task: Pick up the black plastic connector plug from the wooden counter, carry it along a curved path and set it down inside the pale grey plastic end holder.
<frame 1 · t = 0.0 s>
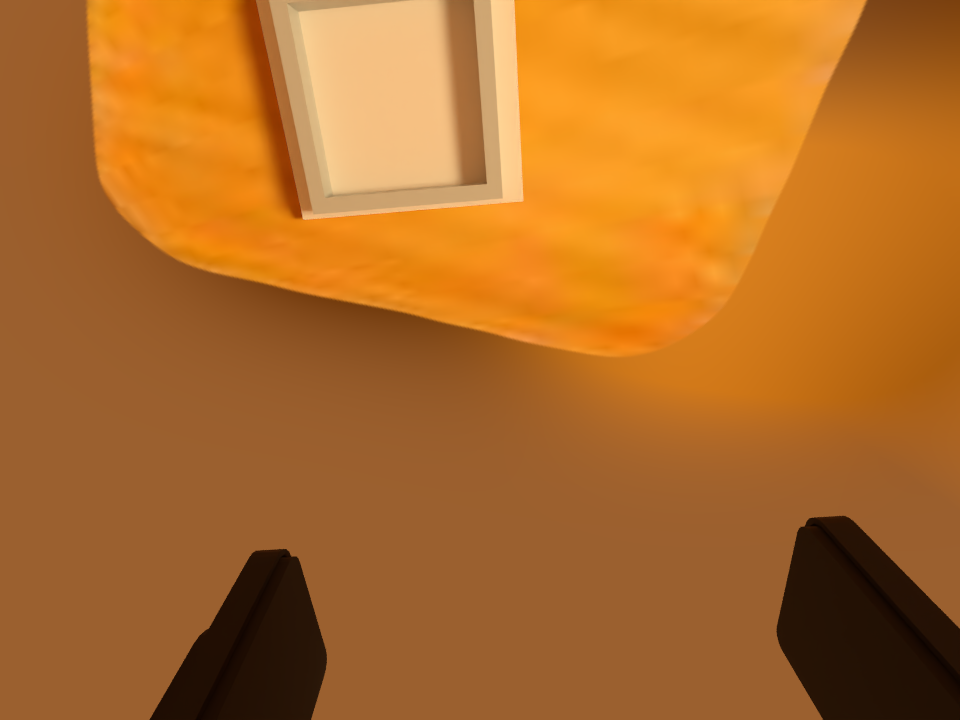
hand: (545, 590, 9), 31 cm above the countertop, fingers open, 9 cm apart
end holder: (400, 103, 34), on the countertop
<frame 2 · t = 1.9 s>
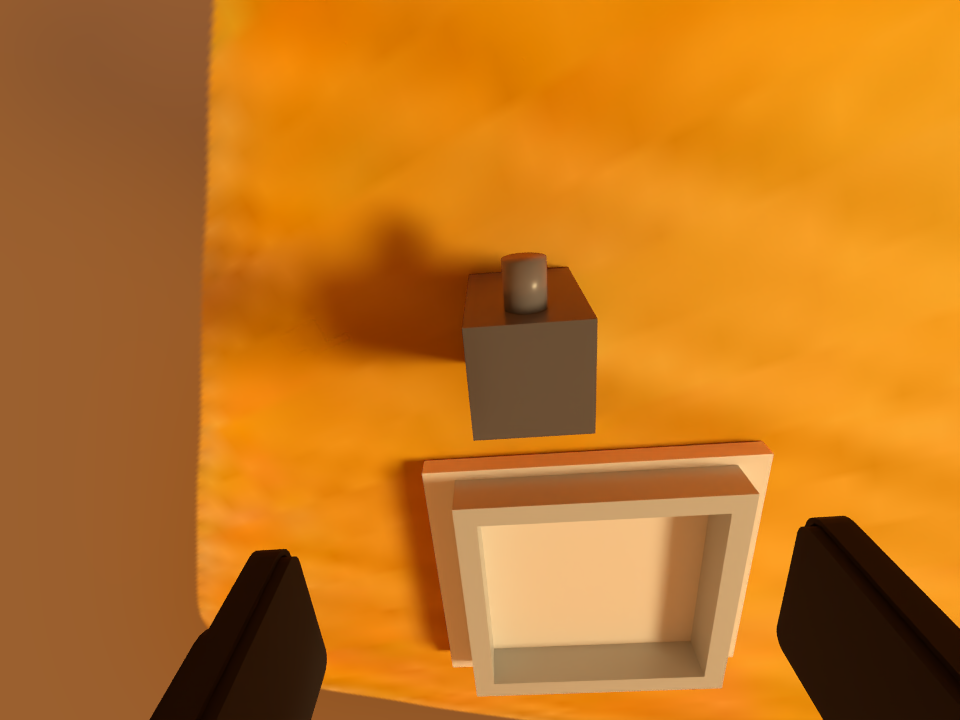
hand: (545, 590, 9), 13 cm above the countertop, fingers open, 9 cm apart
connector plug: (520, 317, 21), on the countertop
end holder: (589, 559, 27), on the countertop
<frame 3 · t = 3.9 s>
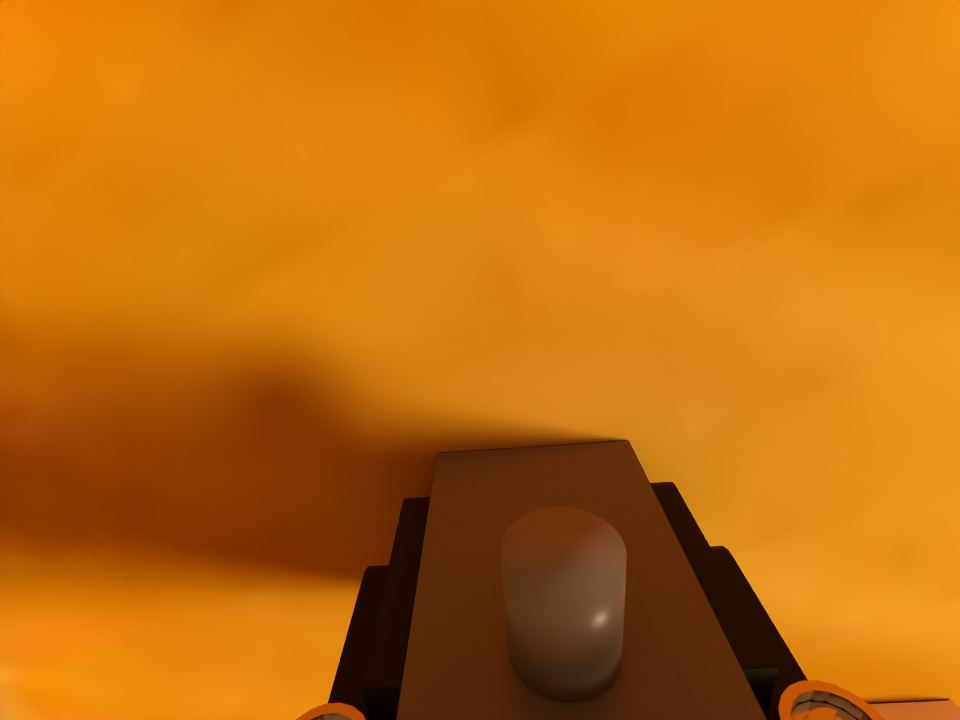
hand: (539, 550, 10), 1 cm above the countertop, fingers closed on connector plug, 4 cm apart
connector plug: (535, 522, 11), on the countertop, touching gripper
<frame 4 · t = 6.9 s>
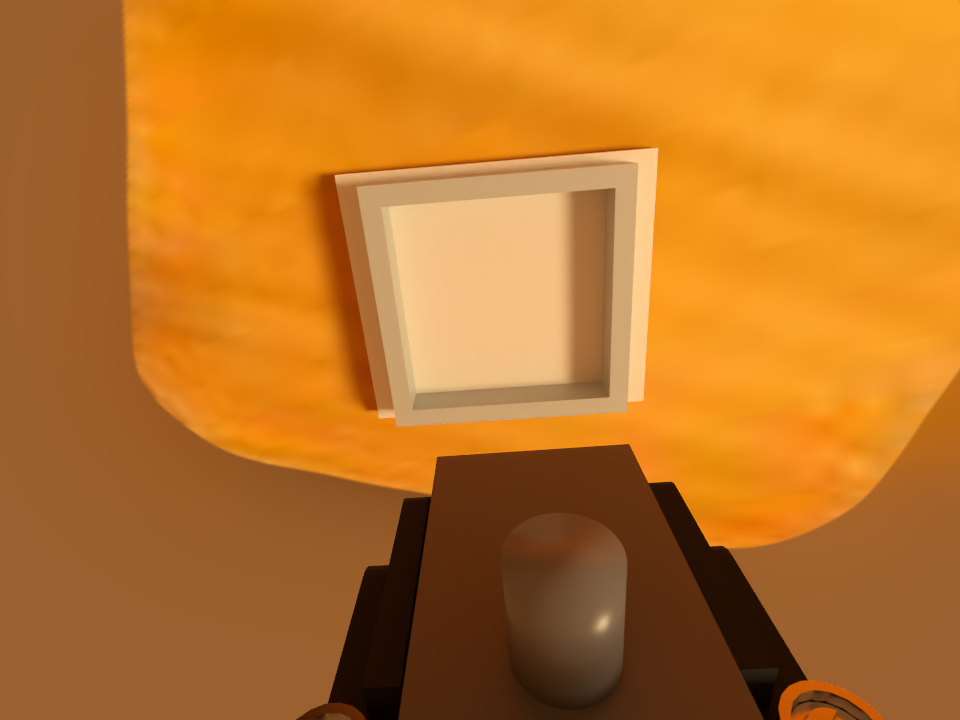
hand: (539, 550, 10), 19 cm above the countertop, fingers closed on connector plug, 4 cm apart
connector plug: (536, 525, 11), point 19 cm above the countertop, touching gripper
end holder: (502, 293, 28), on the countertop
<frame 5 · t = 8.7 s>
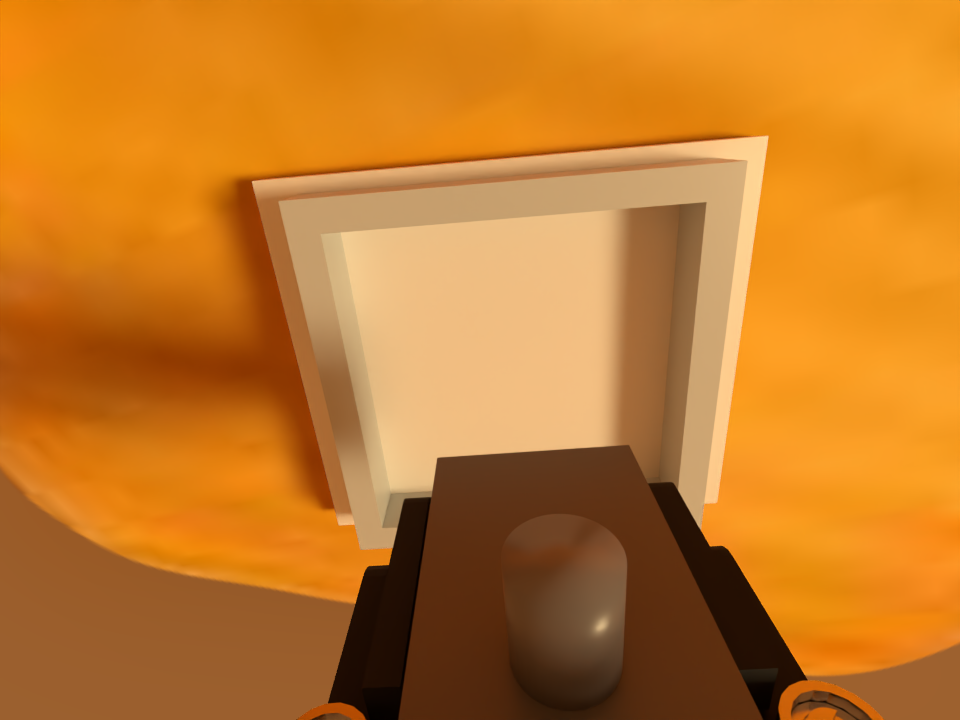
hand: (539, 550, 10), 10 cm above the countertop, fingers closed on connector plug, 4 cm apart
connector plug: (536, 526, 11), point 9 cm above the countertop, touching gripper
end holder: (514, 353, 19), on the countertop
when the fingers open (3 cm above the countertop, at t = 10.3 s): connector plug drops 1 cm, resting on end holder.
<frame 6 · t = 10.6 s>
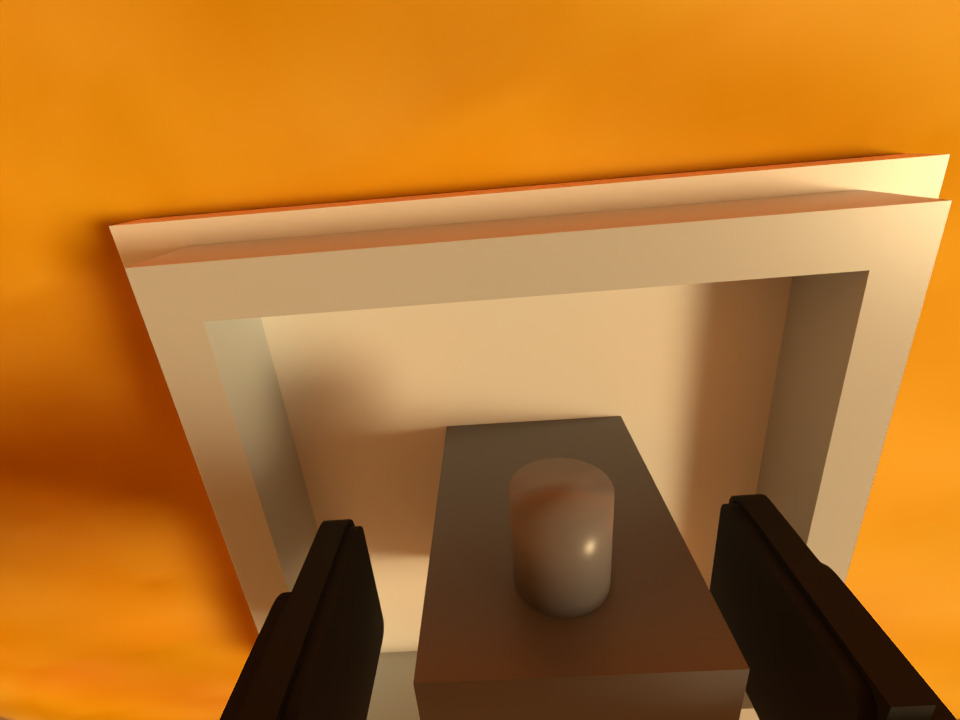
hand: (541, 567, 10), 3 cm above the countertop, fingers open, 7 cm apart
connector plug: (535, 491, 12), point 1 cm above the countertop, touching end holder
end holder: (527, 466, 13), on the countertop
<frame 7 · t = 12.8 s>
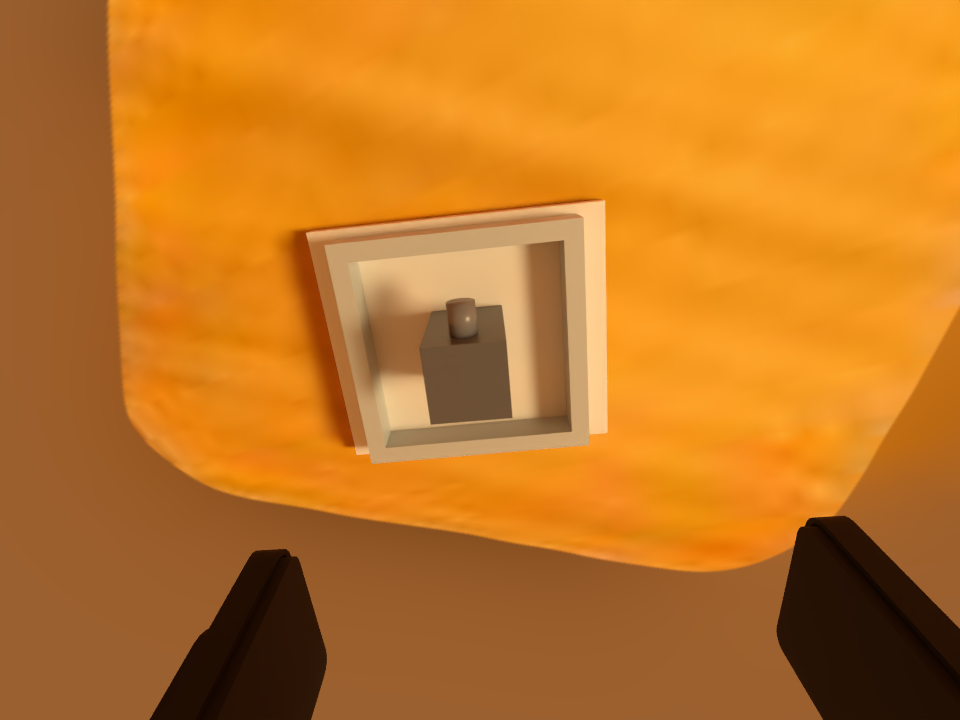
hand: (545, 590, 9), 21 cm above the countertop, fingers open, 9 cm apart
connector plug: (470, 341, 29), point 1 cm above the countertop, touching end holder
end holder: (468, 334, 30), on the countertop
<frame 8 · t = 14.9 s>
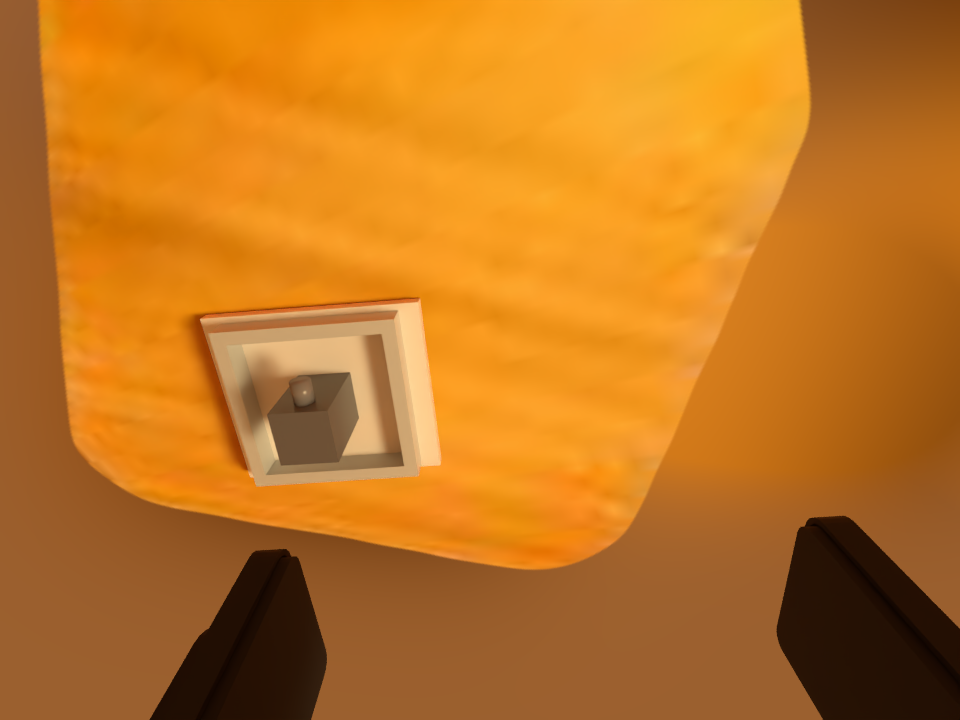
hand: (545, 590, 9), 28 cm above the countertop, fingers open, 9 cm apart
connector plug: (329, 397, 39), point 1 cm above the countertop, touching end holder
end holder: (331, 390, 40), on the countertop
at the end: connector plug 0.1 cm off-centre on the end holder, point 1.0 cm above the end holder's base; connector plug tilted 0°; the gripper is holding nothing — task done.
